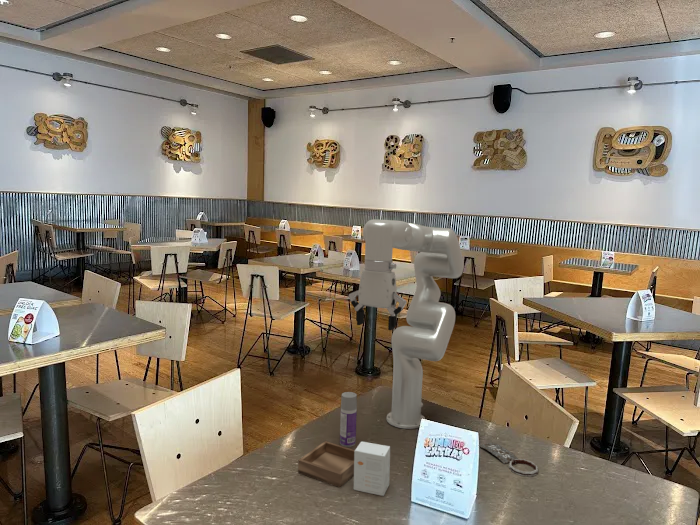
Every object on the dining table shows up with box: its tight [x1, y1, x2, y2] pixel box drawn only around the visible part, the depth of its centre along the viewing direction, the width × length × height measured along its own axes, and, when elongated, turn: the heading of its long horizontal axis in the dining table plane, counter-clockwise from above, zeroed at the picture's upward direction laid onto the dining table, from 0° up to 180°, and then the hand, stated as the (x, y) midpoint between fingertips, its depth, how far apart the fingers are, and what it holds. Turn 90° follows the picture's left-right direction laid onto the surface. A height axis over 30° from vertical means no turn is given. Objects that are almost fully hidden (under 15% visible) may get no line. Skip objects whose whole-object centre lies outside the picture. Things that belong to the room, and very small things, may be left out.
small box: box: [353, 441, 391, 497], centre depth 130 cm, size 8×6×10 cm
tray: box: [297, 440, 355, 488], centre depth 139 cm, size 13×13×4 cm
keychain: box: [479, 442, 539, 477], centre depth 147 cm, size 8×19×2 cm, turn 25°
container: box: [339, 391, 358, 448], centre depth 153 cm, size 5×5×15 cm
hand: (375, 326), depth 146 cm, fingers open, 9 cm apart
